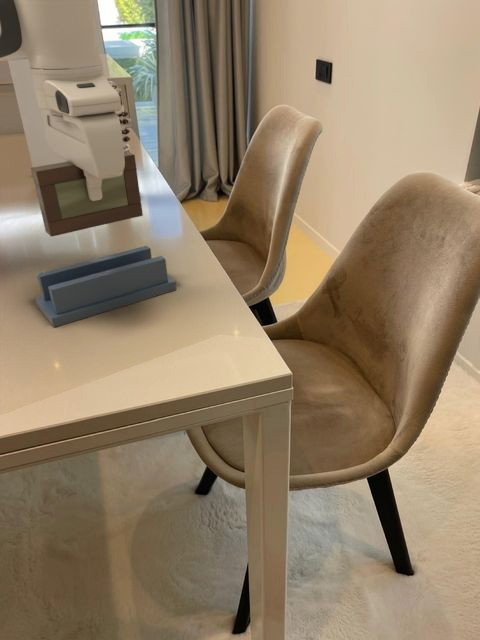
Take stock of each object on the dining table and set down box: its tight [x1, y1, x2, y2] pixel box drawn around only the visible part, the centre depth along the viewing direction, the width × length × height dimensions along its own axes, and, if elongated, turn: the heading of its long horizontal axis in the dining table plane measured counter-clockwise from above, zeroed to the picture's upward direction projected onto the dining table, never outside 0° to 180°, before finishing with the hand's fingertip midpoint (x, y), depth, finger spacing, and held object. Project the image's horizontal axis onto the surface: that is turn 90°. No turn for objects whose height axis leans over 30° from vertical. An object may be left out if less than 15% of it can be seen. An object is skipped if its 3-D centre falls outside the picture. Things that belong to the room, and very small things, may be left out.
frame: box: [30, 151, 144, 237], centre depth 80 cm, size 2×14×9 cm, turn 126°
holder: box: [34, 245, 177, 328], centre depth 87 cm, size 8×20×6 cm, turn 126°
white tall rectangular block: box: [7, 59, 68, 168], centre depth 137 cm, size 14×6×30 cm, turn 82°
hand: (90, 196), depth 80 cm, fingers closed on frame, 2 cm apart
